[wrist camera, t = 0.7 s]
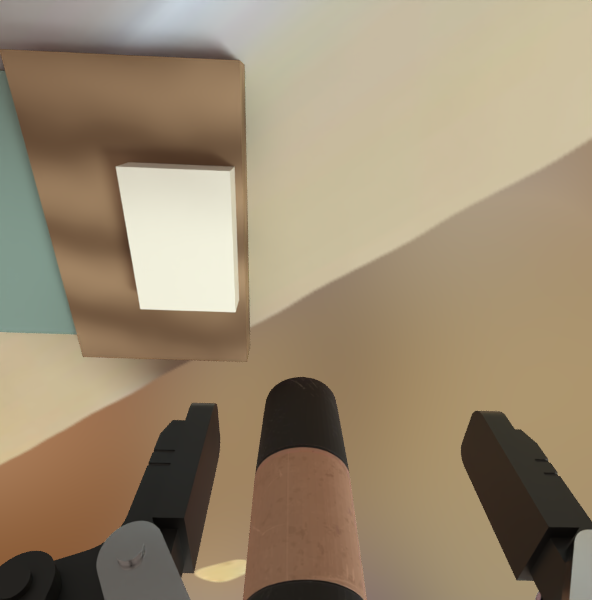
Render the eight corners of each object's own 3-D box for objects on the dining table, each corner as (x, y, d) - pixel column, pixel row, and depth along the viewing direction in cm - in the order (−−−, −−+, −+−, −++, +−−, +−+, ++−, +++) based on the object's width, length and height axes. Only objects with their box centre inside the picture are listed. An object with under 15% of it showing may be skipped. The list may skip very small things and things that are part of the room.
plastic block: (128, 162, 25) (115, 166, 23) (234, 166, 25) (229, 171, 23) (149, 296, 29) (140, 309, 28) (239, 300, 29) (235, 312, 28)
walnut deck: (26, 54, 24) (-1, 48, 22) (244, 64, 24) (239, 60, 22) (96, 340, 34) (83, 356, 32) (250, 345, 34) (247, 361, 32)
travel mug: (332, 434, 40) (363, 699, 22) (261, 429, 39) (233, 694, 22) (344, 377, 36) (391, 638, 18) (265, 371, 36) (235, 631, 18)
